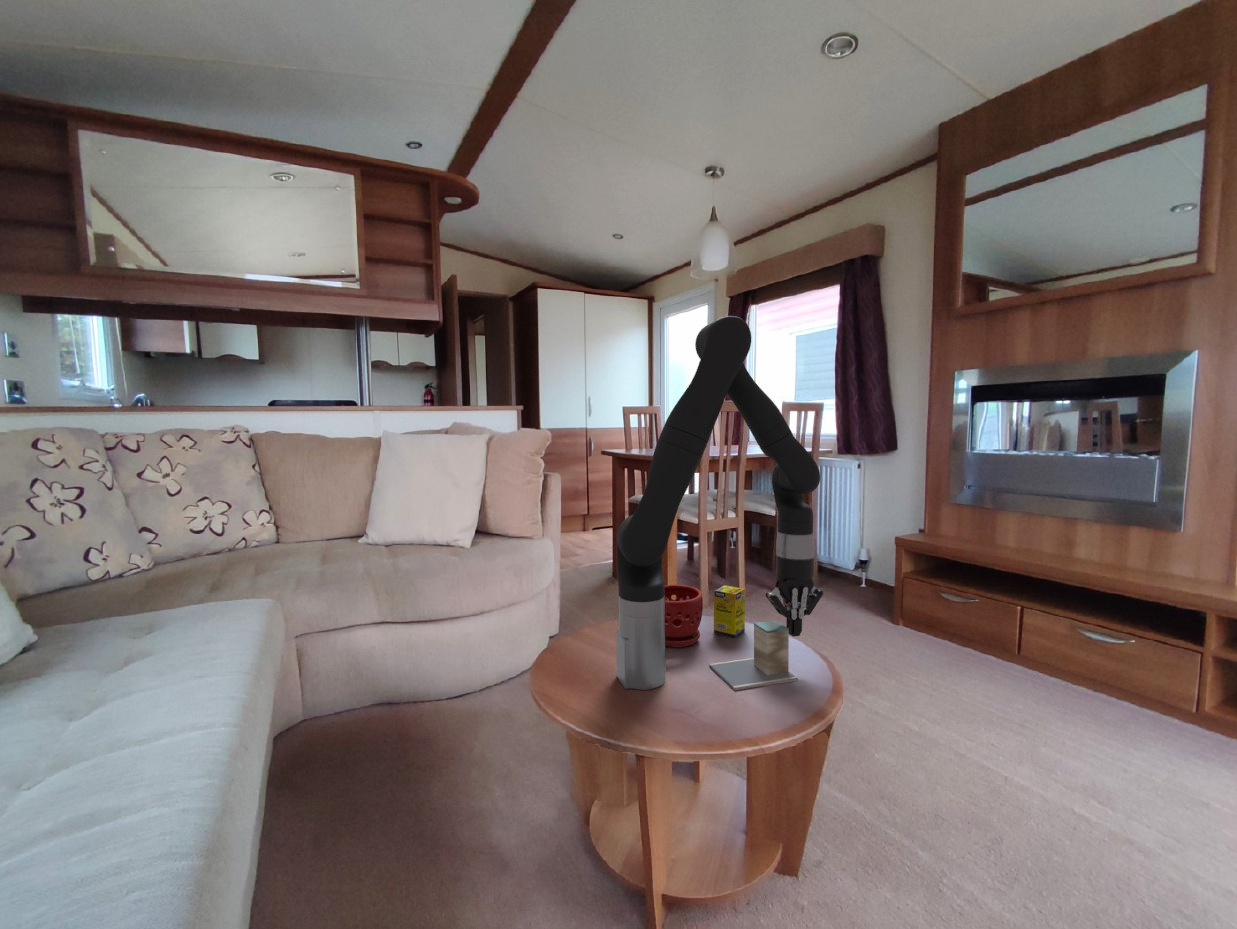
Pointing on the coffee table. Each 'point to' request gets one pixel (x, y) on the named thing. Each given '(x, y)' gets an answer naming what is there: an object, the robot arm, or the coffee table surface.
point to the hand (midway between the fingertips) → (794, 635)
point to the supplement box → (729, 611)
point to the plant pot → (682, 615)
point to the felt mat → (748, 674)
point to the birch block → (771, 647)
